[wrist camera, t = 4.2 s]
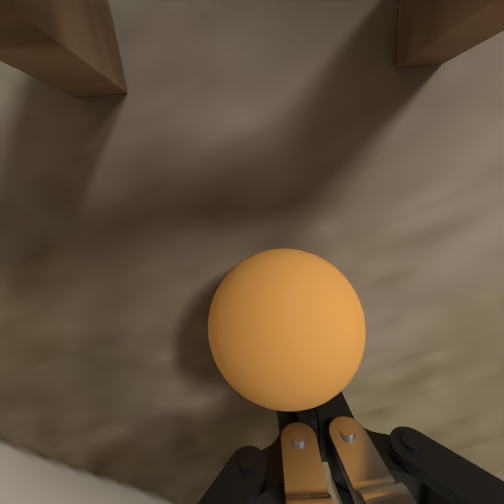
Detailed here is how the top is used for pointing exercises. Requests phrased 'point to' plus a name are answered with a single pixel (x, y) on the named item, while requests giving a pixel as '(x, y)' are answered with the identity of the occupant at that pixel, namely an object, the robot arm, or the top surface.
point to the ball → (286, 330)
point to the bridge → (108, 59)
